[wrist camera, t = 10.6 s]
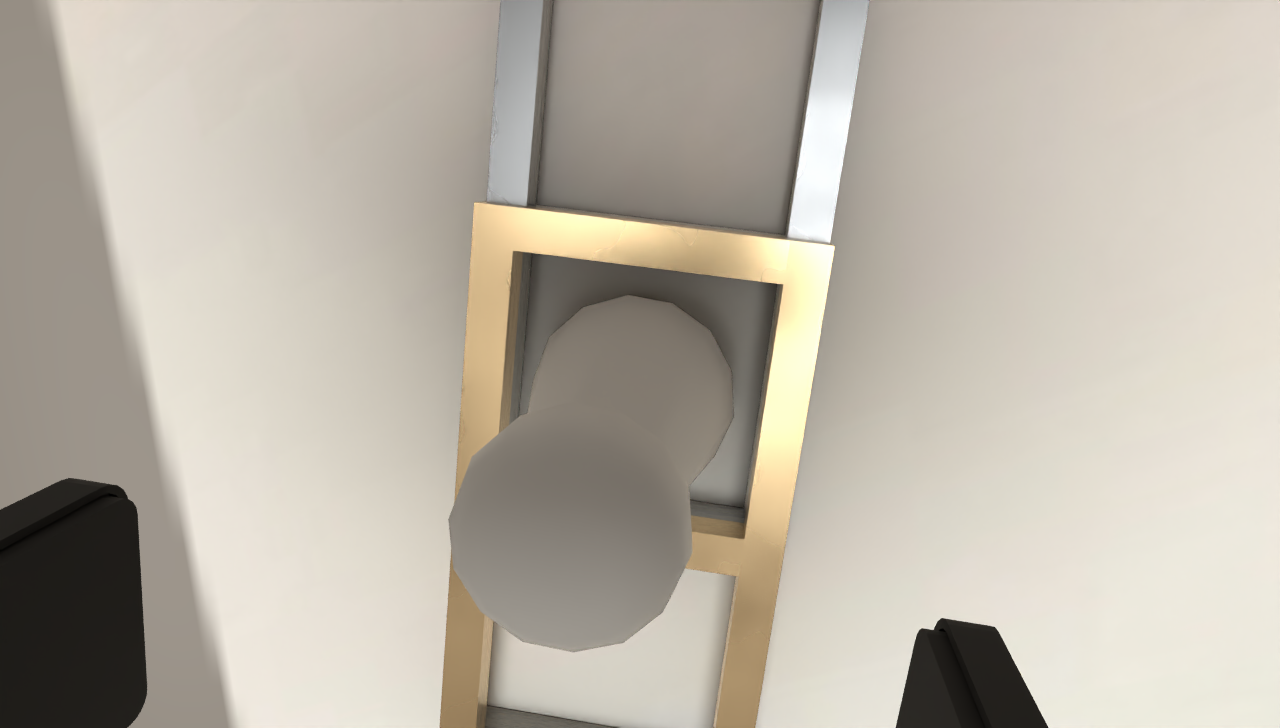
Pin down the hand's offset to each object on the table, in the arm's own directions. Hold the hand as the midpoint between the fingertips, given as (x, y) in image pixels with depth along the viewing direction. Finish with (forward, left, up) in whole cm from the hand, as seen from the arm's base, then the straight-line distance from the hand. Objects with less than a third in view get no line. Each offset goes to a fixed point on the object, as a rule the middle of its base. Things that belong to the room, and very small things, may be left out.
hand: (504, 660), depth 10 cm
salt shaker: (+1, 0, -17) cm, 17 cm away
